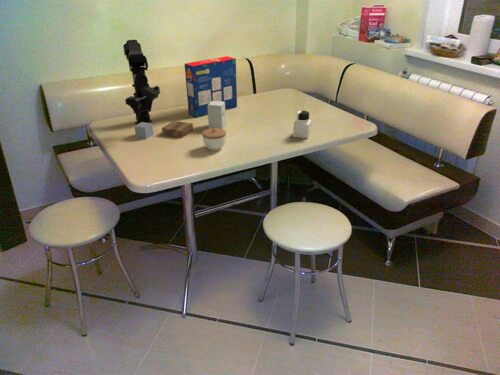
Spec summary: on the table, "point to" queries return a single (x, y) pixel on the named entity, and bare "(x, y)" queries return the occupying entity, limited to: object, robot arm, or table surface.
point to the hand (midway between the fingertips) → (144, 114)
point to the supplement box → (216, 114)
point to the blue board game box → (210, 84)
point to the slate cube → (143, 130)
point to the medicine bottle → (302, 125)
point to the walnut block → (177, 129)
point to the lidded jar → (214, 138)
